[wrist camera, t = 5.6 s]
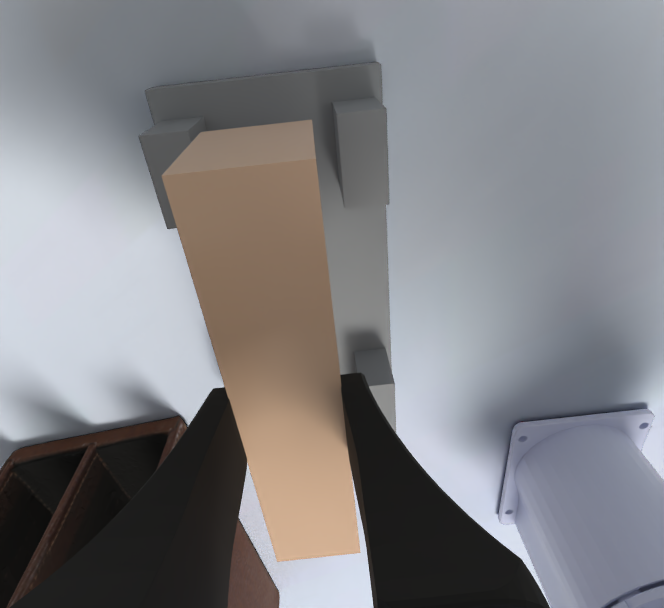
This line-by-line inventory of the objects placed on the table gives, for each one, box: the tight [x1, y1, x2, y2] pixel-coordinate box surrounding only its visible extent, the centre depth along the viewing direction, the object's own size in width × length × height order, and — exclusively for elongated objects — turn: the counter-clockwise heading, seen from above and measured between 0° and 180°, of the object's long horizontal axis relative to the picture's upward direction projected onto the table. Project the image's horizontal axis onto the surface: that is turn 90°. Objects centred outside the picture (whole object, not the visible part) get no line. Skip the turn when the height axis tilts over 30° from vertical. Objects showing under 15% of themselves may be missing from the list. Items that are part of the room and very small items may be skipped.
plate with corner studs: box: [139, 62, 396, 432], centre depth 19 cm, size 16×8×4 cm, turn 6°
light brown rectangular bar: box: [162, 120, 360, 562], centre depth 14 cm, size 14×3×4 cm, turn 6°
